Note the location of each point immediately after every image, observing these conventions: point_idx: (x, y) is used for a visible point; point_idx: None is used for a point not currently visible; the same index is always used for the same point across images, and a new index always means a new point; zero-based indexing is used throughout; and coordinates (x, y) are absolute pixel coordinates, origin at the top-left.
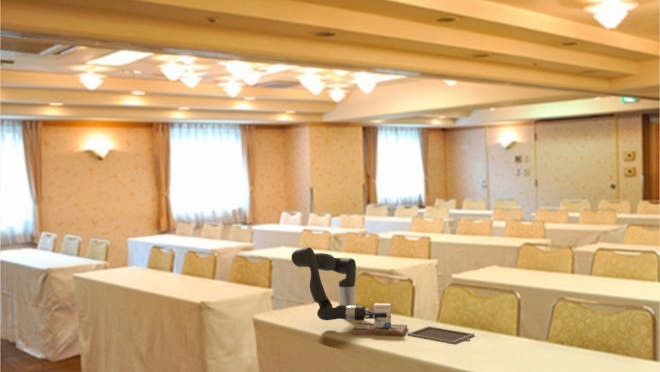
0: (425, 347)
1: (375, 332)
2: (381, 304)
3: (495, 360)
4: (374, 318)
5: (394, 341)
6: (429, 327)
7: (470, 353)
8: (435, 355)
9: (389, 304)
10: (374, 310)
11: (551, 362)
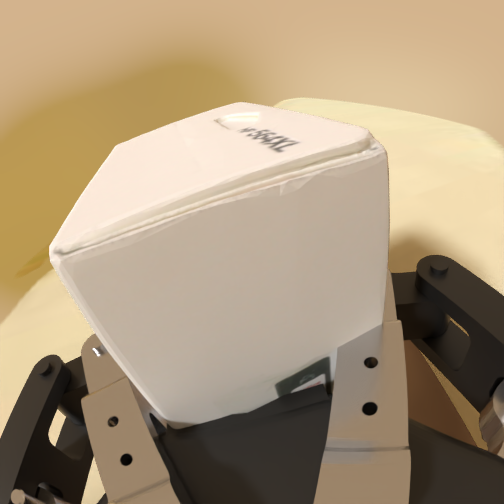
0: (426, 171)
1: (443, 400)
2: (213, 128)
3: (393, 117)
4: (456, 335)
5: (460, 249)
6: None
7: (386, 131)
8: (460, 148)
9: (190, 117)
10: (386, 288)
11: (347, 106)
